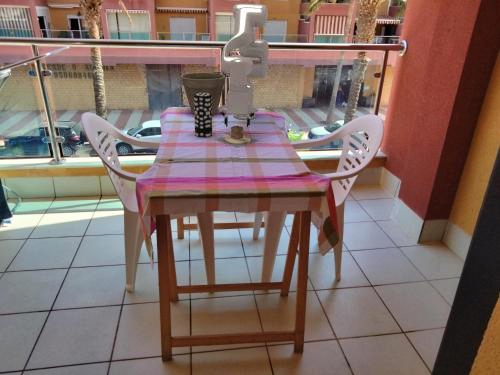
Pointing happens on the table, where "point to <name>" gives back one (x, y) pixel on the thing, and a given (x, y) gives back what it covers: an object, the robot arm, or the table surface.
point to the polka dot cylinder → (203, 114)
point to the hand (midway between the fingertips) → (237, 126)
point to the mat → (236, 144)
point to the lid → (236, 136)
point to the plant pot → (204, 87)
